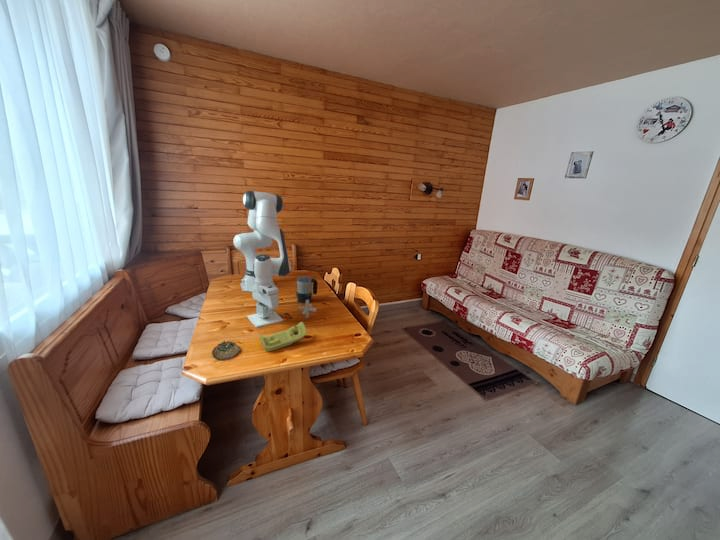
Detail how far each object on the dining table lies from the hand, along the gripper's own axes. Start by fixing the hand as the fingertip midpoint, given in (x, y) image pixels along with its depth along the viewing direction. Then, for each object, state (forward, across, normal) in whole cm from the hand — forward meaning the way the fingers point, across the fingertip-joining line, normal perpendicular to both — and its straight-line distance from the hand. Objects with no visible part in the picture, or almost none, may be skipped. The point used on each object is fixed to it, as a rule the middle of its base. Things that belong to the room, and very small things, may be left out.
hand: (265, 310), depth 147 cm
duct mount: (+5, 0, 0) cm, 5 cm away
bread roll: (+6, +16, -28) cm, 33 cm away
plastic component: (+5, +26, -6) cm, 27 cm away
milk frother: (+5, -10, +33) cm, 35 cm away
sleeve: (+2, 0, 0) cm, 2 cm away
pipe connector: (+5, +13, +18) cm, 23 cm away
